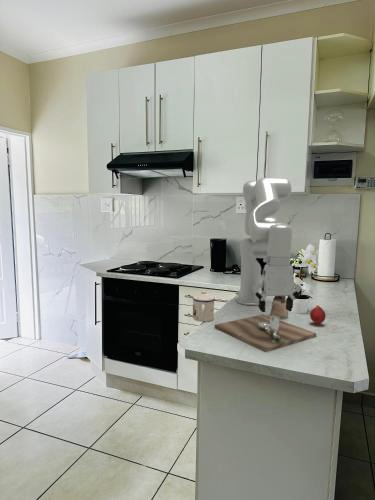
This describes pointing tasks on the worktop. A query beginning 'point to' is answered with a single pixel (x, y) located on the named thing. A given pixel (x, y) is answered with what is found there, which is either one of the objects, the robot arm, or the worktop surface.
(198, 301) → the teacup with lid
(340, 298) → the worktop surface
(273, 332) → the dial lever
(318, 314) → the onion
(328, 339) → the worktop surface
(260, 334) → the wooden cutting board
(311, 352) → the worktop surface
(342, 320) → the worktop surface
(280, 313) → the tan brown ceramic jug
